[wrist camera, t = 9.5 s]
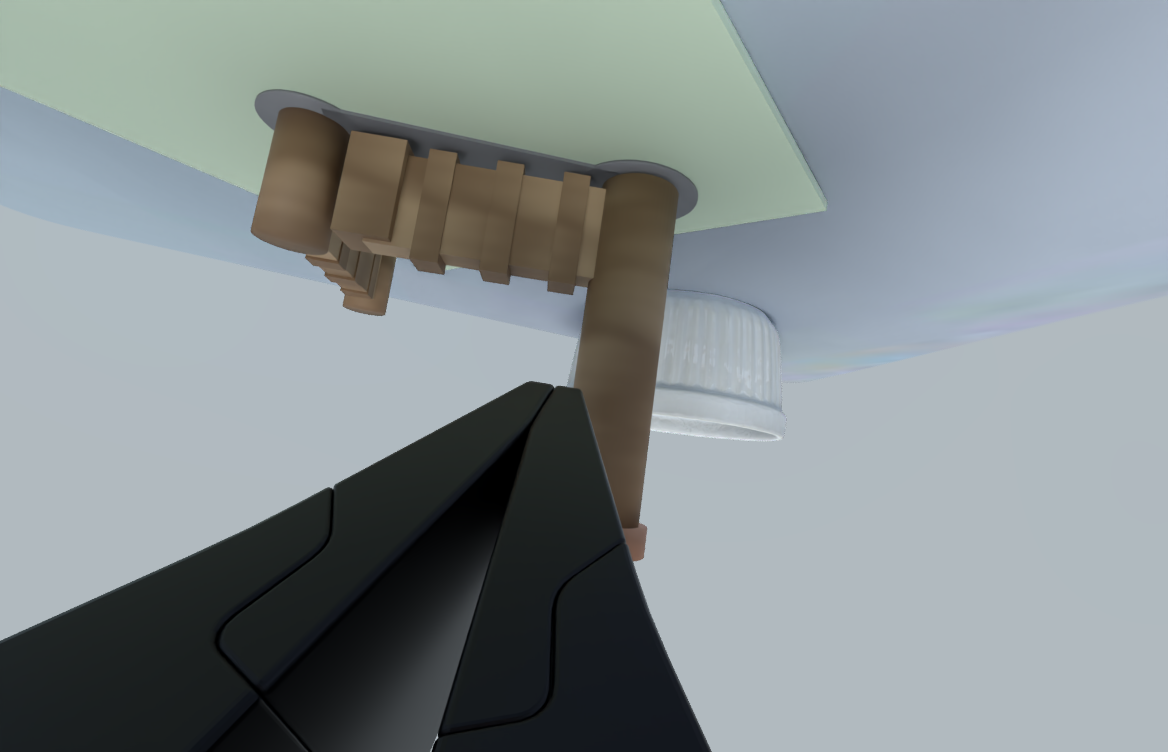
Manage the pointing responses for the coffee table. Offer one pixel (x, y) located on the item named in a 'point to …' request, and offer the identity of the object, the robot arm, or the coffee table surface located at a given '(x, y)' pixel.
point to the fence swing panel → (538, 267)
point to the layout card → (429, 87)
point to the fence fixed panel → (316, 207)
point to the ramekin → (716, 370)
